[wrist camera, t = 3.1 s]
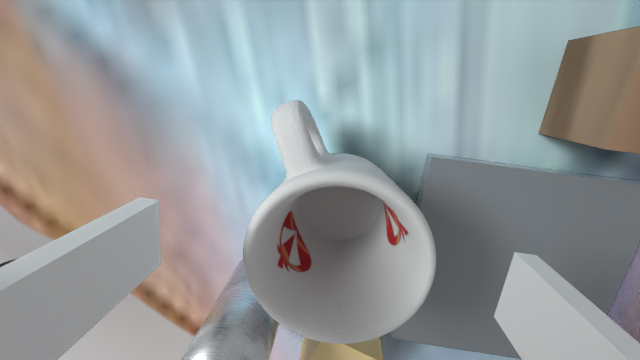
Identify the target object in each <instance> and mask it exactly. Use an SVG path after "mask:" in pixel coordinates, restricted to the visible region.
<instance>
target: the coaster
mask: <svg viewBox="0 0 640 360" xmlns="http://www.w3.org/2000/svg"><path fill="white" fill-rule="evenodd" d="M416 205H417V207H418V208H419V209H420V211H421V212H422V214H423V215H424V217H425V219H426V221H427V222H428V225H429V227H430V229H431V232H432V235H433V239H434V243H435V249H436V270H435V275H434V280H433V283H432V286H431V289H430V291H429V293H428V295H427V297H426V299H425V301H424V302H423V304H422V305H421V307H420V308H419V309H418V310H417V311H416V313H415V314H414V315H413V316H412V317H411V318H410V319H409V320H408V321H406V322H405V323H404V324H402V325H401V326H400V327H398V328H397V329H395V330H393V331H391V332H390V337H391V339H396V340H402V341H409V342H415V343H422V344H428V345H434V346H441V347H447V348H454V349H460V350H467V351H473V352H480V353H486V354H493V355H499V356H506V357H512V358H519V359H521V357H520V356H519V354H518V353H517V351H516V350H515V348H514V347H513V345H512V344H511V342H510V341H509V339H508V338H507V336H506V334H505V333H504V331H503V330H502V328H501V327H500V325H499V324H498V322H497V321H496V319H495V318H494V314H495V311H496V308H497V305H498V302H499V299H500V296H501V293H502V290H503V287H504V283H505V280H506V277H507V274H508V271H509V268H510V265H511V262H512V259H513V256H514V252H519V253H525V254H532V255H537V256H538V257H539V258H541V259H542V260H543V261H544V262H545V263H546V264H548V265H549V266H550V267H551V268H552V269H553V270H555V271H556V272H557V273H558V274H559V275H560V276H562V277H563V278H564V279H565V280H566V281H567V282H569V283H570V284H571V285H572V286H573V287H574V288H576V289H577V290H578V291H579V292H580V293H581V294H583V295H584V296H585V297H586V298H587V299H588V300H590V301H591V302H592V303H593V304H594V305H595V306H597V307H598V308H599V309H600V310H601V311H602V312H604V313H605V314H606V315H607V313H608V311H609V309H610V307H611V305H612V303H613V300H614V298H615V296H616V294H617V292H618V290H619V287H620V285H621V283H622V281H623V279H624V277H625V274H626V272H627V270H628V268H629V266H630V264H631V261H632V259H633V257H634V255H635V253H636V251H637V248H638V246H639V244H640V181H634V180H626V179H619V178H611V177H603V176H596V175H588V174H580V173H573V172H565V171H558V170H550V169H542V168H535V167H527V166H520V165H512V164H504V163H497V162H489V161H482V160H474V159H466V158H459V157H451V156H443V155H436V154H428V155H427V159H426V164H425V168H424V173H423V177H422V182H421V186H420V191H419V195H418V200H417V204H416Z"/></svg>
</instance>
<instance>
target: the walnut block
mask: <svg viewBox="0 0 640 360" xmlns="http://www.w3.org/2000/svg"><path fill="white" fill-rule="evenodd" d="M539 134H543V135H547V136H552V137H556V138H560V139H564V140H568V141H572V142H576V143H581V144H585V145H589V146H593V147H597V148H601V149H605V150H613V151H621V152H629V153H637V154H640V26H638V27H633V28H628V29H623V30H618V31H613V32H608V33H603V34H599V35H594V36H589V37H584V38H579V39H574V40H569V41H568V43H567V46H566V50H565V53H564V56H563V59H562V62H561V65H560V68H559V71H558V75H557V78H556V81H555V84H554V87H553V90H552V93H551V96H550V100H549V103H548V106H547V109H546V112H545V115H544V118H543V121H542V124H541V128H540V131H539Z"/></svg>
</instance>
